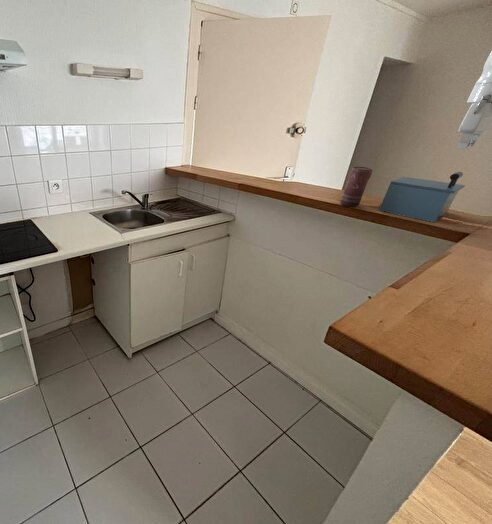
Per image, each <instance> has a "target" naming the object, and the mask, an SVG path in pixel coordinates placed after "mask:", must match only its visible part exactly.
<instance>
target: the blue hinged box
mask: <svg viewBox="0 0 492 524" xmlns="http://www.w3.org/2000/svg"><path fill="white" fill-rule="evenodd" d="M458 192H459V191H457V192H455V193H454V194H453V193H447V192H441V191H434V190H428V189H422V188H415V187H409V186H403V185H396V184H390V183H389V185H388V188H387V190H386V193H385V194H384V197H383V199H382V202H381V204H380V207H379V209H378V211H379V210H381V211H380V212H384V211H386V212H385V213H388V212H391V213H390V214H393V213H395V214H394V215H397V214H400V215H399V216H402V215H404V216H403V217H406V216H409V217H408V218H411V217H413V218H412V219H415V218H418V219H417V220H420V219H422V220H421V221H425V220H427V221H426V222H429V221H431V222H430V223H434V222H435V223H437V221H439V220H440V219H442V218H443V217H444V215H445V214H446V213H448V211H449V209H450V208H451V206H452V204H453V202H454V200H455V198H456V196H457V195H458Z"/></svg>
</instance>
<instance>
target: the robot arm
mask: <svg viewBox="0 0 492 524" xmlns="http://www.w3.org/2000/svg"><path fill="white" fill-rule="evenodd" d="M482 69H483V70H482V72H481V75H480V77H479V78H478V79H477V80H476V82H475V83H474V86H473V87H472V90H471V92H470V94H469V96H468V98H467V101H466V103H467V104H468V103H470V107H469V108H468V110H467V112H466V113H465V115H464V117H463V119H462V121H461V123H460V125H459V127H458V133H461V136H460V140H459V143H458V145H457V147H456V148H457V150H465V149H467V148H471V147H474V146H475V144H476V143H477V141H478V139H479V138H480V136H481V135H482V134H483V131H488V130H489V129H491V127H492V50H491V51H490V52H489V55H488V56H487V58H486V61H485V62H484V65H483V68H482Z"/></svg>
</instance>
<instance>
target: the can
mask: <svg viewBox="0 0 492 524" xmlns="http://www.w3.org/2000/svg"><path fill="white" fill-rule="evenodd" d="M372 175H373V169H372V168H370V167H365V166H354V167H352V168H351V170H350V172H349V175H348V178H347V181H346V184H345V188H344V190H343V192H342V196H341V199H340V201H339V203H340V205H341V206H343V207H347V208H357V207H358V206H360V203H361V200H362V198H363V196H364V193H365V190H366V187H367V185H368V182H369V180H370V178H371V176H372Z"/></svg>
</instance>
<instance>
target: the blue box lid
mask: <svg viewBox="0 0 492 524" xmlns="http://www.w3.org/2000/svg"><path fill="white" fill-rule="evenodd" d="M463 176H464V173H463V172H462V171H457V172H454V173H452V174H450V176H449V179H450V182H444V181H437V180H430V179H424V178H417V177H416V178H415V177H409V176H402V177H399V178H396V179H394V180H390V183H389V185H390V184H396V185H403V186H409V187H415V188H422V189H428V190H434V191H441V192H447V193H453V194H454V193H455V192H457V191H458V192H459V191H460V190H462V189H463V188H465V184H458V183H457V182H458V180H459V179H461V178H462V177H463Z"/></svg>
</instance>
